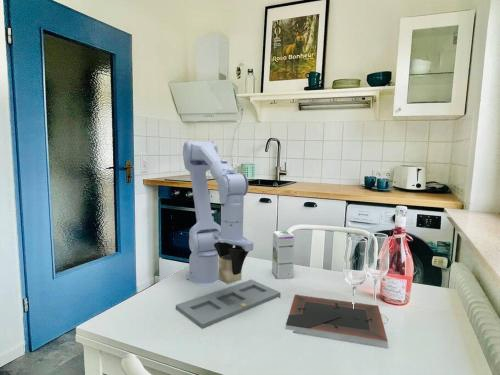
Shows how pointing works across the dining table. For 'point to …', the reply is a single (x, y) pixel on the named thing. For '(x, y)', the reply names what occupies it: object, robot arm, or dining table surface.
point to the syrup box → (283, 254)
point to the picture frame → (337, 320)
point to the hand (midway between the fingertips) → (231, 271)
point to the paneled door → (226, 302)
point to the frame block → (227, 270)
